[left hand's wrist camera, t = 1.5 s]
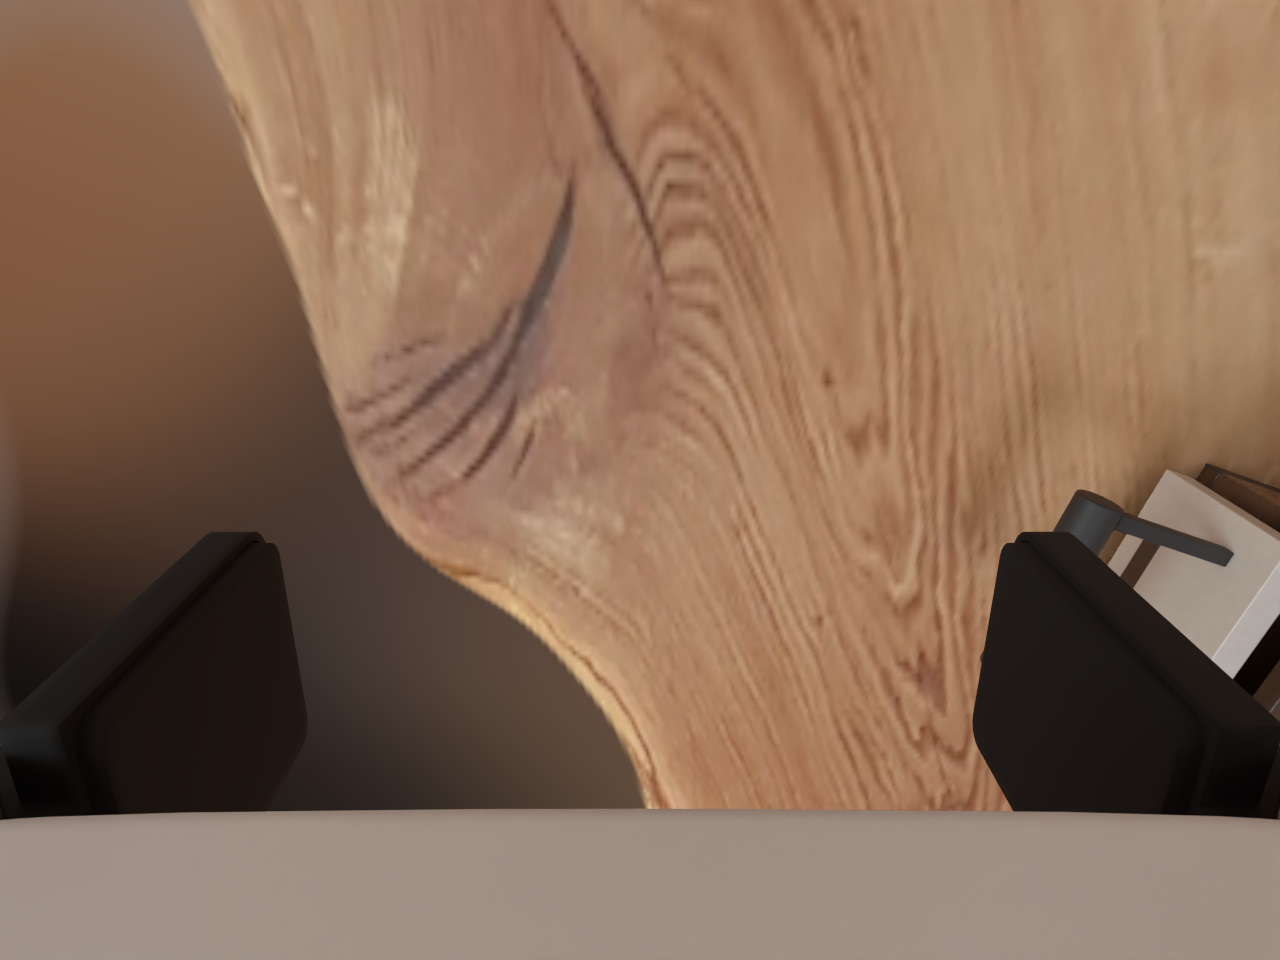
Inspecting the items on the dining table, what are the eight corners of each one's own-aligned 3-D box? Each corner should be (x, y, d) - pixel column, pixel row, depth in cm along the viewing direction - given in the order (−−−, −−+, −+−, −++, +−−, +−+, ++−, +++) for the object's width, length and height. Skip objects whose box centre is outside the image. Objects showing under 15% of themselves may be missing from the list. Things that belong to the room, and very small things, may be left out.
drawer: (927, 614, 38) (988, 717, 31) (1031, 421, 35) (1125, 490, 28) (1310, 735, 41) (1445, 856, 34) (1442, 565, 37) (1621, 662, 30)
